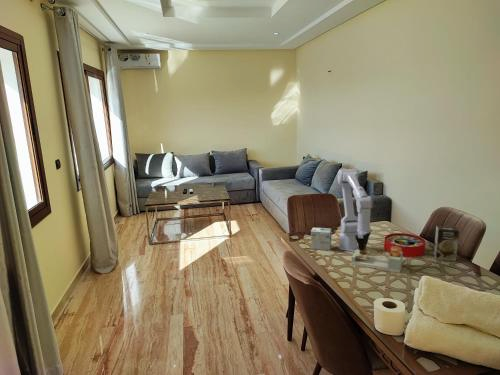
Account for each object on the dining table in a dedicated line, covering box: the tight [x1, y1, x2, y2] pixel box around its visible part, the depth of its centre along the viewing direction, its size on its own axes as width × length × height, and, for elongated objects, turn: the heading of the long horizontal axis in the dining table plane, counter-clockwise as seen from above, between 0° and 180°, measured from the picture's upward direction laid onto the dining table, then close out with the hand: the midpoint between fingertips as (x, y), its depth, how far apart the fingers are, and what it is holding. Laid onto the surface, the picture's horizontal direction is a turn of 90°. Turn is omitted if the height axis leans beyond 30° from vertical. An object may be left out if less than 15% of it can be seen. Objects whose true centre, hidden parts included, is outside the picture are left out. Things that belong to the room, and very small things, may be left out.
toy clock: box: [383, 232, 427, 258], centre depth 184 cm, size 20×6×20 cm
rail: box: [351, 249, 403, 274], centre depth 168 cm, size 22×10×6 cm, turn 61°
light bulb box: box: [310, 227, 332, 252], centre depth 190 cm, size 11×7×11 cm, turn 71°
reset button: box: [391, 246, 402, 257], centre depth 163 cm, size 5×5×6 cm
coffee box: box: [433, 225, 460, 262], centre depth 170 cm, size 9×6×16 cm
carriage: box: [356, 244, 370, 260], centre depth 171 cm, size 5×8×7 cm, turn 151°
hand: (363, 247), depth 170 cm, fingers open, 7 cm apart
